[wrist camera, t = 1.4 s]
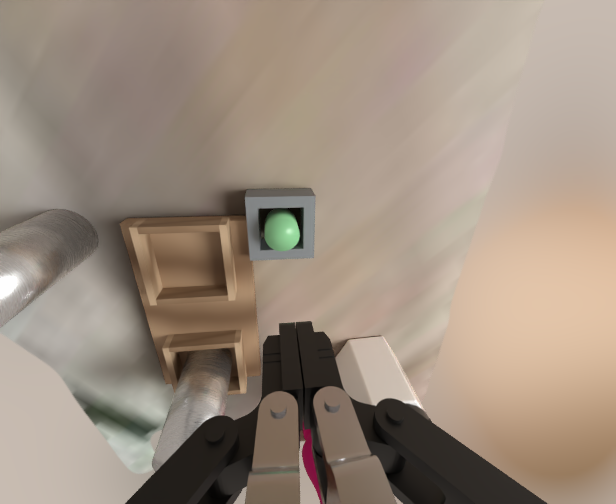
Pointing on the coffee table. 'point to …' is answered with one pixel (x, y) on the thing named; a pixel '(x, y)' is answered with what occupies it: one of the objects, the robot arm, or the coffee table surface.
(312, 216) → the grey square box
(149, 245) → the wooden tray
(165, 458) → the seated billet
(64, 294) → the coffee table surface
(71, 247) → the cylinder
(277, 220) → the button
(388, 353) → the jar
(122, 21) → the coffee table surface
